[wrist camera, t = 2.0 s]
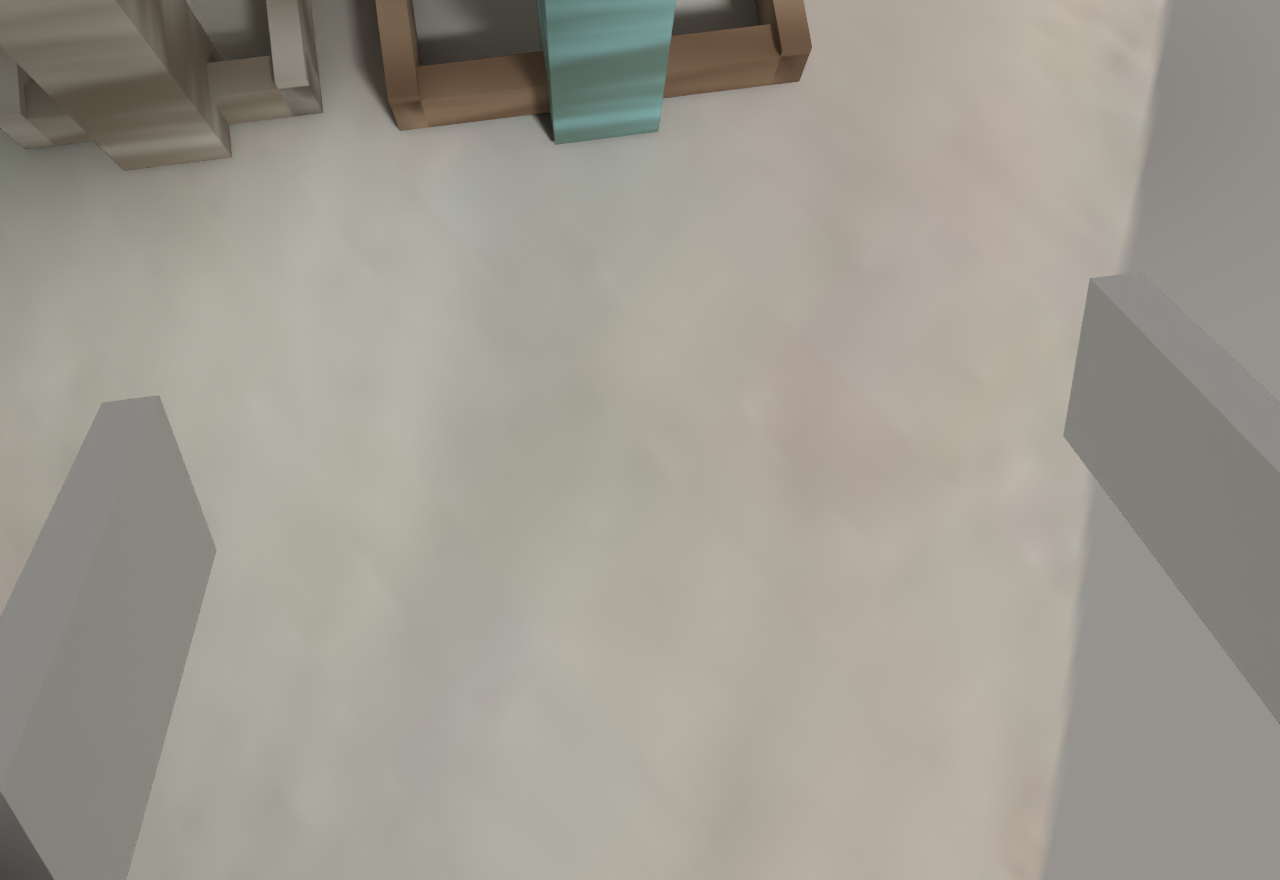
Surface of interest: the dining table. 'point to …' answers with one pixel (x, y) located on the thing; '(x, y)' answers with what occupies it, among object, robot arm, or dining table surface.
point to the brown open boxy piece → (591, 66)
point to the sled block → (145, 78)
